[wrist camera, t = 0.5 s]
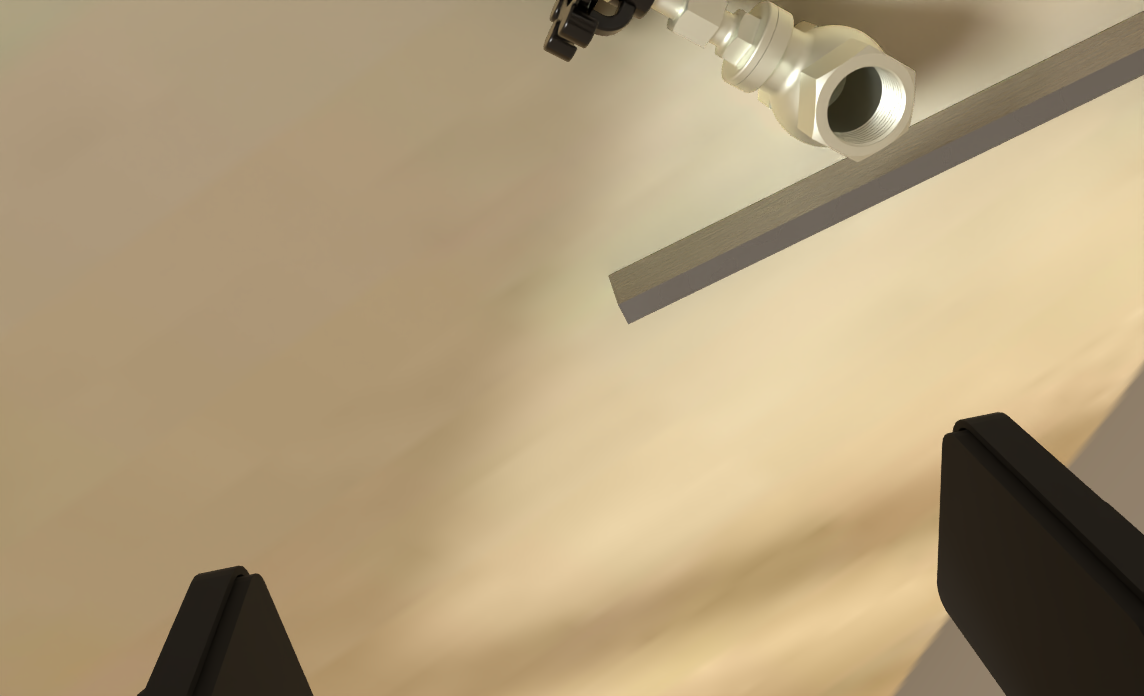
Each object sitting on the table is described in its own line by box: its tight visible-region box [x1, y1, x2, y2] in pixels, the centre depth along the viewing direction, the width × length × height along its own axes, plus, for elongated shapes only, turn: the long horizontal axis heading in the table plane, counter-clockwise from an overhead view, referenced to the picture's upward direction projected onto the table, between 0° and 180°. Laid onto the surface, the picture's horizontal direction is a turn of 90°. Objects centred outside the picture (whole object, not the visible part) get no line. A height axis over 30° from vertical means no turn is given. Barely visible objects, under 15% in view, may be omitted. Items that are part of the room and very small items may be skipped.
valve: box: [544, 0, 916, 162], centre depth 30 cm, size 7×7×12 cm
